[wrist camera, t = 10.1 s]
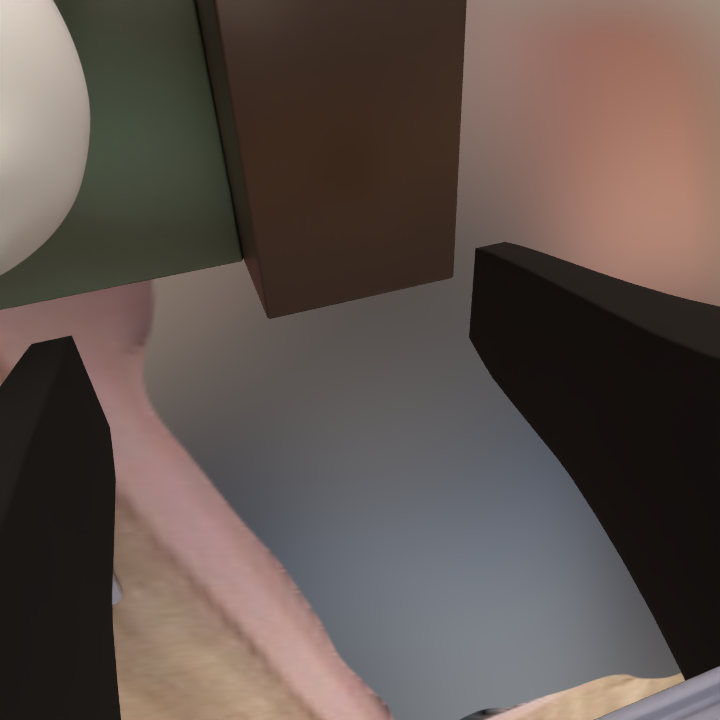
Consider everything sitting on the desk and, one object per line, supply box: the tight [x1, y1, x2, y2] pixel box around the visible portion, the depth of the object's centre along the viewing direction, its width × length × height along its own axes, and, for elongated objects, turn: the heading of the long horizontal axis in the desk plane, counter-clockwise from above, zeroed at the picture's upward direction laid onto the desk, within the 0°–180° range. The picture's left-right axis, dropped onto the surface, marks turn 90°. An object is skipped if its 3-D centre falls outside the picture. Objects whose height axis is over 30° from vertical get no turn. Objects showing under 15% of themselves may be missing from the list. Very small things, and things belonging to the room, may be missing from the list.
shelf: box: [0, 0, 466, 319], centre depth 13 cm, size 13×13×7 cm
